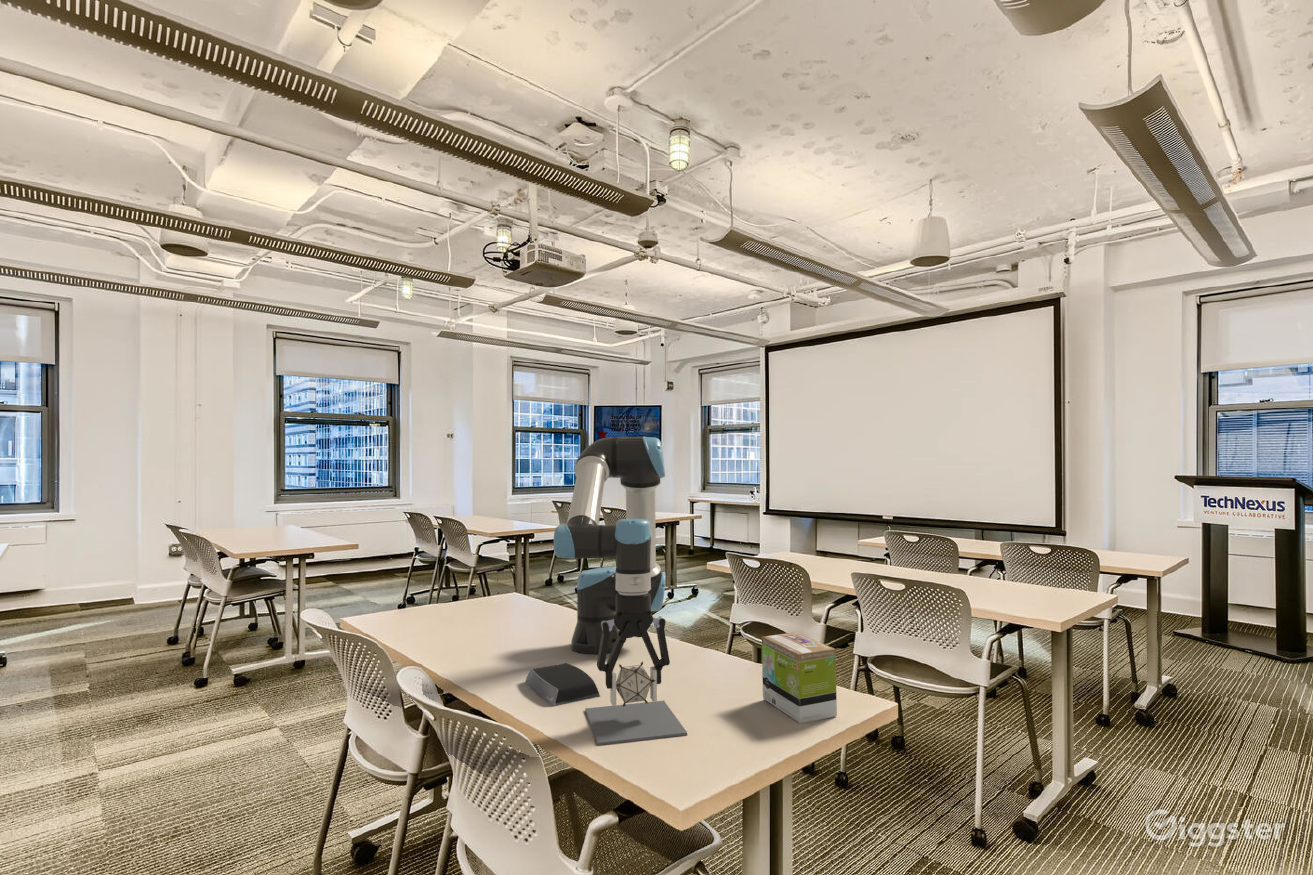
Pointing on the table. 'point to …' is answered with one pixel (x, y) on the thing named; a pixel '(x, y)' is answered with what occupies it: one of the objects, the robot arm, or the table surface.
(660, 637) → the robot arm
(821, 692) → the tea box
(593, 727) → the mat
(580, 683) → the external hard drive
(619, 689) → the game die
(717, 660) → the table surface
